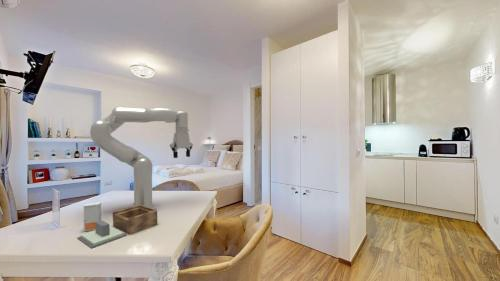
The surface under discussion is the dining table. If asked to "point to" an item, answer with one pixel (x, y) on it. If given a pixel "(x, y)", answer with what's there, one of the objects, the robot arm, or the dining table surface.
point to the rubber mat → (98, 244)
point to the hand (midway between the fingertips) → (182, 157)
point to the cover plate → (101, 239)
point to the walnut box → (134, 219)
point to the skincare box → (91, 215)
